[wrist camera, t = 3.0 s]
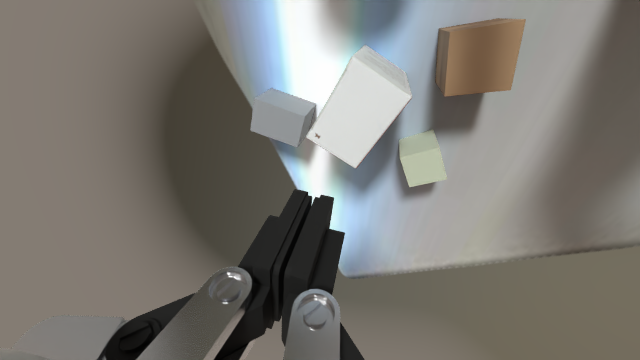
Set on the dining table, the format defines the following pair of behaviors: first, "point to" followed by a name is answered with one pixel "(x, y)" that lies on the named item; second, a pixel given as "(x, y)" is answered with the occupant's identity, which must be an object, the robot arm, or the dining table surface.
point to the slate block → (282, 116)
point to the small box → (361, 106)
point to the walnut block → (478, 56)
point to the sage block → (421, 159)
